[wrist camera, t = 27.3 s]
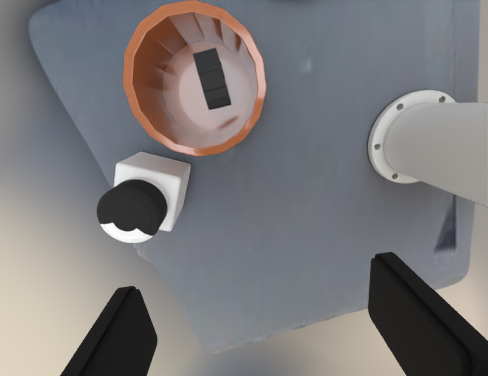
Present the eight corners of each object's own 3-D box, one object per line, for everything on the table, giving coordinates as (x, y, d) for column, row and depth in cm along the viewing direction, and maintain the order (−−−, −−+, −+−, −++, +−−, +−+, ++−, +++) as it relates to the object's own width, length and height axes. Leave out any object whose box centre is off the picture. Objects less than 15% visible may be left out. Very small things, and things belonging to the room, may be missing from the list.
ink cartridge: (231, 104, 29) (231, 104, 22) (214, 109, 30) (208, 110, 22) (221, 62, 28) (217, 46, 20) (203, 67, 28) (192, 53, 20)
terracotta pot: (247, 26, 27) (255, -12, 18) (261, 132, 31) (273, 144, 22) (144, 44, 27) (101, 15, 18) (172, 148, 31) (148, 165, 23)
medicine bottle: (140, 150, 31) (87, 175, 20) (192, 163, 32) (170, 194, 21) (134, 197, 34) (84, 243, 22) (182, 208, 35) (158, 258, 23)
